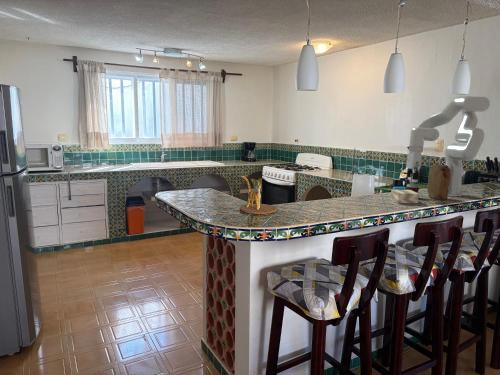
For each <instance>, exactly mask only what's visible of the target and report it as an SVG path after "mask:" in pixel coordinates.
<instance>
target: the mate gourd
mask: <svg viewBox="0 0 500 375" xmlns="http://www.w3.org/2000/svg"><path fill="white" fill-rule="evenodd" d="M412 177H413V176H412V174H411V177H410V183H407V184H406V187H405V190H412V191H414V192H416V193H418V194H419V190H420V188H419V185H418V184H417V183H413V181H412V180H413V179H412Z"/></svg>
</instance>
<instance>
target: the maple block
mask: <svg viewBox="0 0 500 375" xmlns="http://www.w3.org/2000/svg"><path fill="white" fill-rule="evenodd" d="M419 196H420V193H419V192H418V193H416V192H414V191H412V190H406V189H391V192H390V200H391V201H392V202H394V203H396V204H397V203H418V204H419Z"/></svg>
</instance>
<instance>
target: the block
mask: <svg viewBox="0 0 500 375" xmlns="http://www.w3.org/2000/svg"><path fill="white" fill-rule="evenodd" d="M450 172H451V171H450V168H449V167H448V166H447V165H444V164H431V165H430V169H429V175H428V181H427V193H428V197H429V198H430V199H432V200H433V199H435V200H441V201H443V200H444V201H445V200H447V199H448V197H449V196H448V187H449V183H450V176H451V173H450Z"/></svg>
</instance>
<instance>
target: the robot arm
mask: <svg viewBox="0 0 500 375" xmlns="http://www.w3.org/2000/svg"><path fill="white" fill-rule="evenodd" d="M490 105H491V102H490V99H489V98H488V97H486V96H474V95H473V96H472V95H471V96H469V95H467V96H466V95H465V96H464V95H463V96H454V97H453V98H451V99H450V100H448V102H447V103H446V104H445V105H444V106H443V107H442V108H441V109H440V110H439V111H438V112H436V113H435V114H433V115H431V116H430V117H428V118H426V119H425V120H423V121H422V122H421V123H420V124H419V125H418V126H417V127H413V128H411V130H410V138H409V144H408V145H409V147H408V156H407V158H406V159H407V161H406V168H407V169H406V170H407V172H406V178H411V174H412V180H413V181H418V180H419V177H420V176H419V175H420V171H421V167H422V153H423V152H424V144H425V142H433V141H437V140H438V139H439V137H440V131H439V130H438V129H436V128H437V127H440V126H444V125H447V124H449V123H451V122H452V121H453V119H454V118H455V117H456V116H457V115H458V114H459V113H461V117H462V118H461V122H459V126H458V128H457V129H456V130H457V131H456V132H455V135H454V140H455V141H456V142H458V143H450V144H448V145H447V146H446V147H445V150H444V156H445V157H444V158H445V165H447V166H448V167H449V168H450V171H451V172H450V173H451V176H450V183H449V187H448V197H457V196H458V197H462V196H463V194H464V193H469V189H466V188H465V189H463V188H462V187H461V186H462V176H463V169H464V168H463V167H464V166H463V162H462V161H465V162H470V161H473V160H474V159H475V158H476V157H477V155H478V152H479V150H480V149H481V147H482V144H483V142H484V139H485V132H484V130H483V129H482V128H480V127H477V125H478V123H479V122H478V121H479V119H478V116H477V114H476V113H477V112H478V113H481V112H486V111H487V110H488V109H489V107H490Z"/></svg>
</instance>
